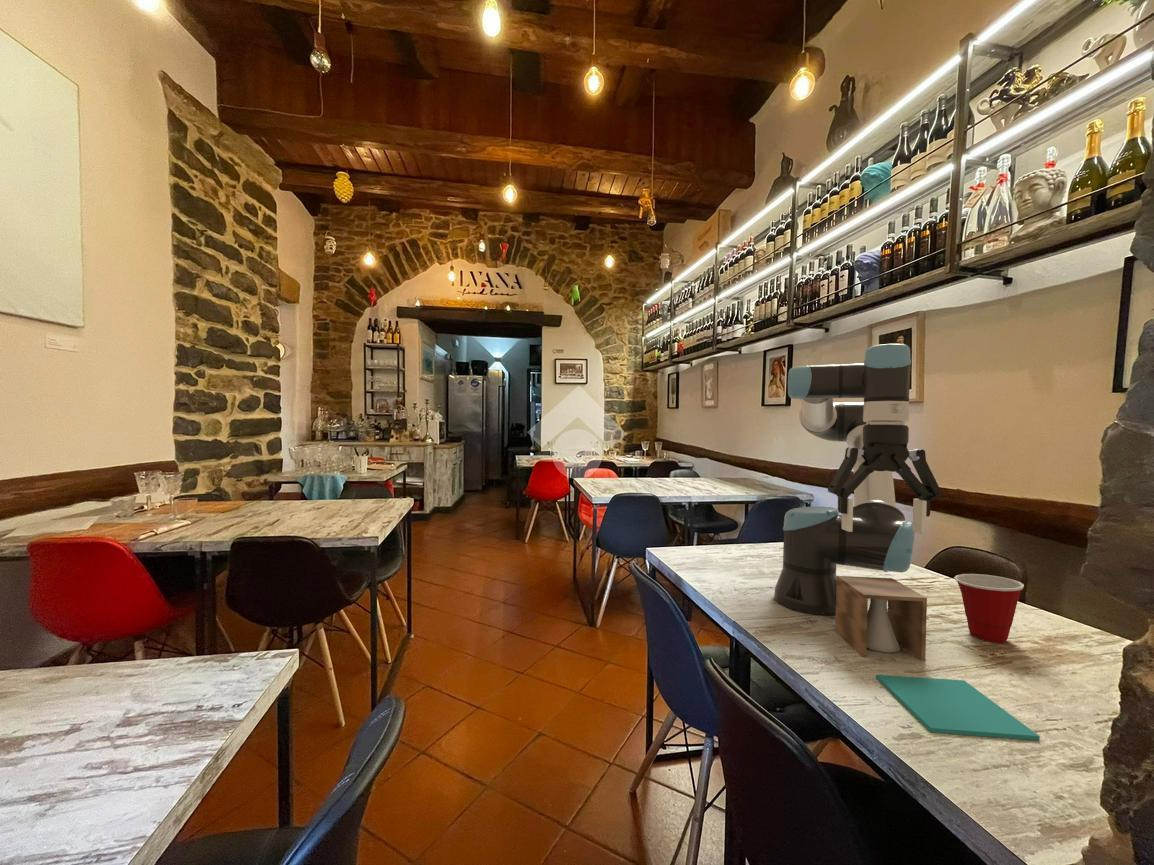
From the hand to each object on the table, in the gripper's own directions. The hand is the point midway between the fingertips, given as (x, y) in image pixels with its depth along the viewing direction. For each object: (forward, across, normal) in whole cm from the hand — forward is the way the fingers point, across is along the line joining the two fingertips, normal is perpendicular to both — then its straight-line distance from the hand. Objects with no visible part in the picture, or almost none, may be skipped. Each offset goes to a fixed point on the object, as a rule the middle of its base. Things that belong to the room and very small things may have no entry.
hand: (882, 531), depth 91 cm
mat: (+23, -1, -20) cm, 30 cm away
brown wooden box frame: (+22, 0, 0) cm, 22 cm away
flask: (+23, 0, 0) cm, 23 cm away
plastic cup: (+22, +25, +6) cm, 34 cm away
